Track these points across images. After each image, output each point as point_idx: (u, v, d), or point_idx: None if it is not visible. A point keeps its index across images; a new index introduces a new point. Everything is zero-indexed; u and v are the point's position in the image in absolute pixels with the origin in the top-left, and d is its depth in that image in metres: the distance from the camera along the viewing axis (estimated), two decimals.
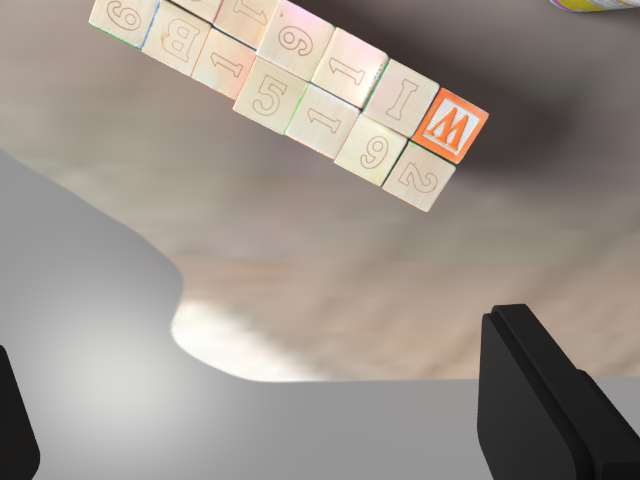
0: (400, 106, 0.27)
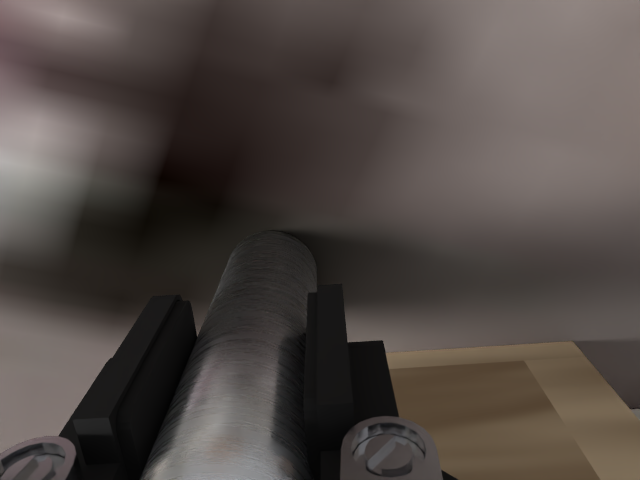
0: None
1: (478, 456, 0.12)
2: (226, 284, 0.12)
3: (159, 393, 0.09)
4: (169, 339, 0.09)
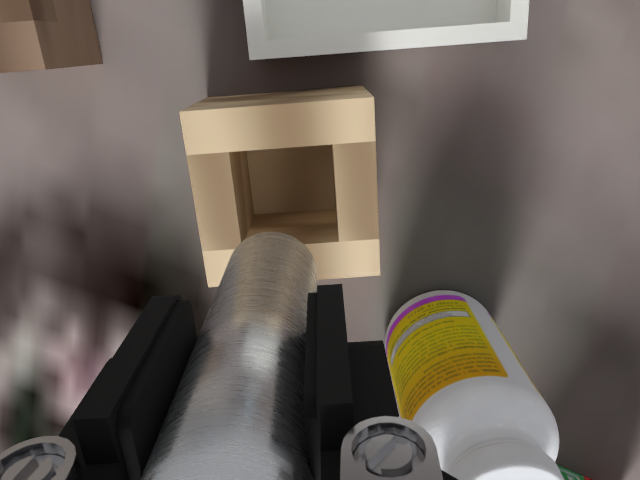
0: None
1: None
2: (226, 285, 0.12)
3: (159, 393, 0.09)
4: (169, 339, 0.09)
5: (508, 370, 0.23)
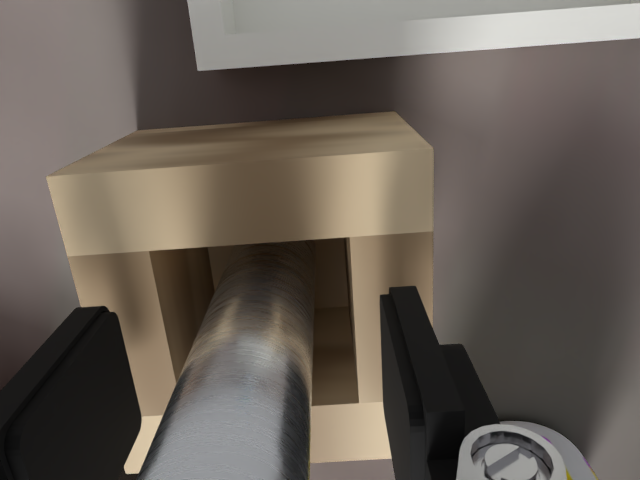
0: None
1: None
2: (235, 259, 0.14)
3: (66, 410, 0.08)
4: (83, 353, 0.09)
5: None
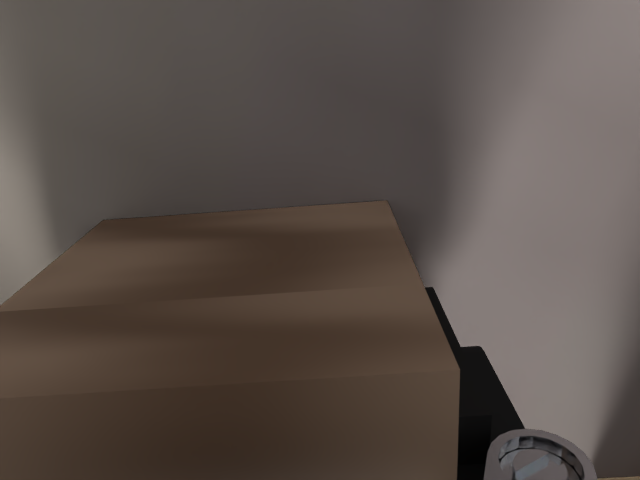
0: None
1: None
2: None
3: None
4: None
5: None
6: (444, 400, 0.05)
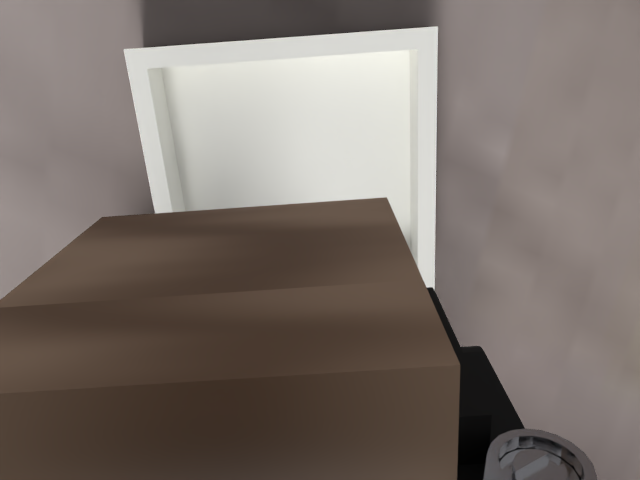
0: None
1: None
2: None
3: None
4: None
5: None
6: (445, 396, 0.05)
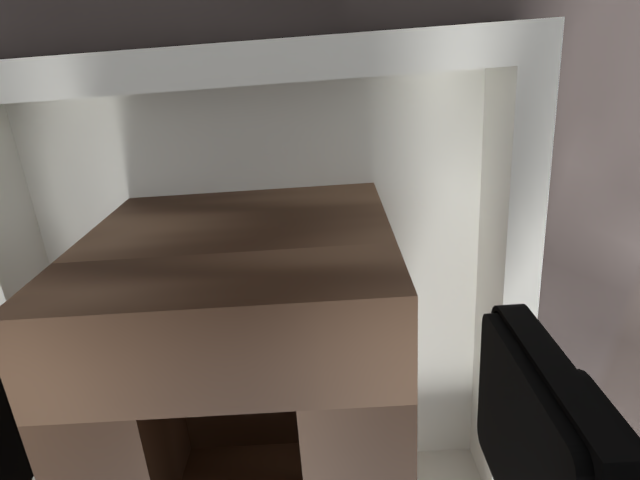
0: None
1: None
2: None
3: None
4: None
5: None
6: (407, 320, 0.07)
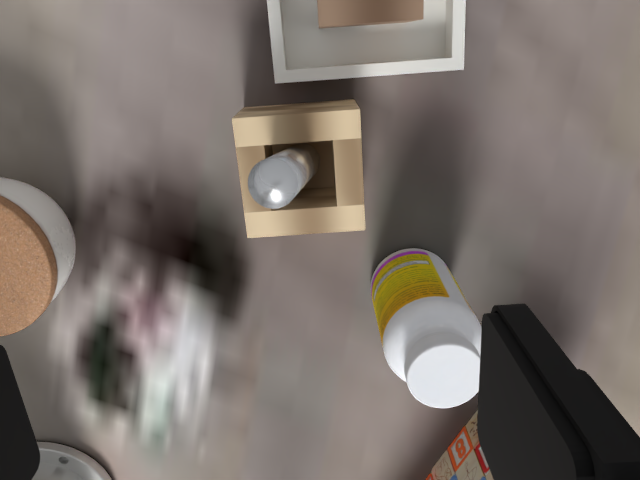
0: None
1: None
2: None
3: None
4: None
5: (450, 294, 0.34)
6: None
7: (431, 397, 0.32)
